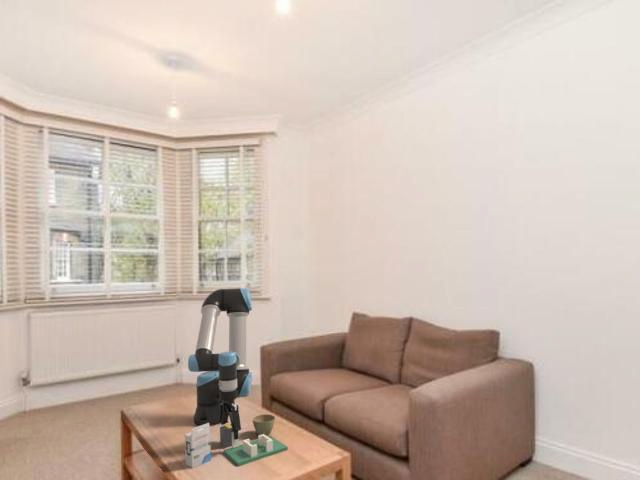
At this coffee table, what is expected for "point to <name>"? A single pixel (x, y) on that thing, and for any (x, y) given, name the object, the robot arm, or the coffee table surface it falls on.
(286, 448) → the board
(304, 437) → the coffee table surface
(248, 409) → the coffee table surface
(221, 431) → the plug
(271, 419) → the flower pot
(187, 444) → the ink box
